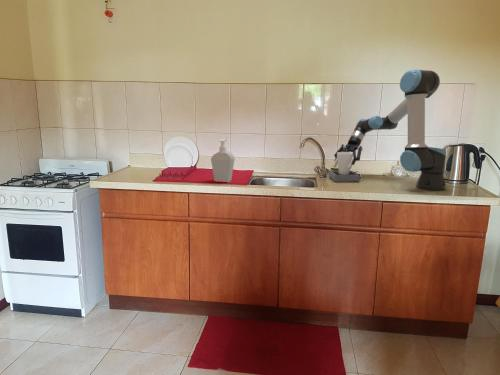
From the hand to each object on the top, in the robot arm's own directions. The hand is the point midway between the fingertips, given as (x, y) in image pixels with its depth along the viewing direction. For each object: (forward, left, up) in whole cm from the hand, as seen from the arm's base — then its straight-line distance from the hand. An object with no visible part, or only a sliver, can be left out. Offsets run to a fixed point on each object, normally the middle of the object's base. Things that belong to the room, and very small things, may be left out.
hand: (341, 167), depth 234 cm
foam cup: (+2, -2, -5) cm, 6 cm away
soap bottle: (-2, +73, -9) cm, 73 cm away
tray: (+2, -2, -8) cm, 9 cm away
